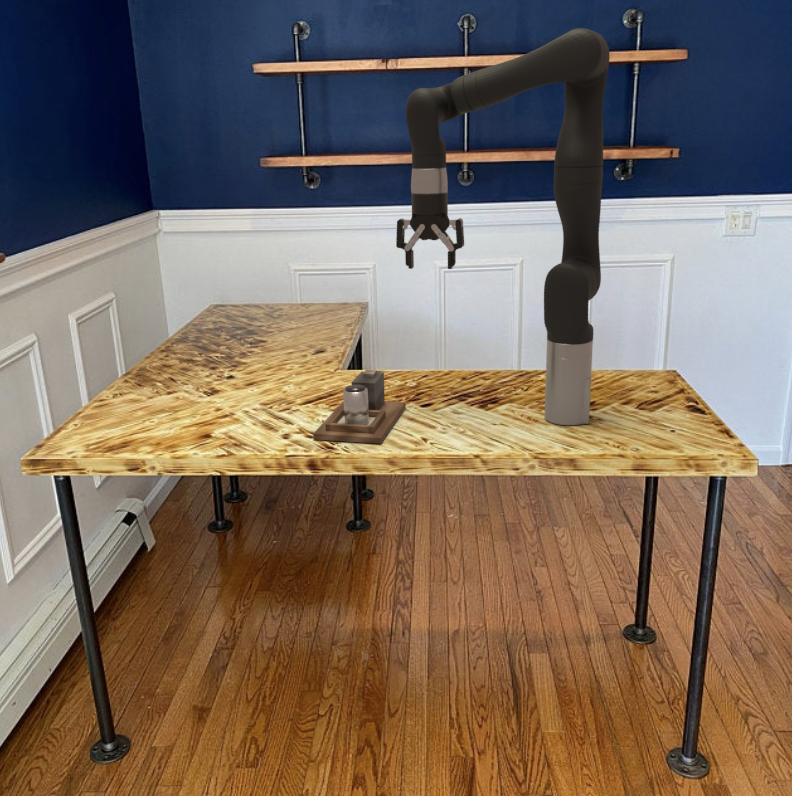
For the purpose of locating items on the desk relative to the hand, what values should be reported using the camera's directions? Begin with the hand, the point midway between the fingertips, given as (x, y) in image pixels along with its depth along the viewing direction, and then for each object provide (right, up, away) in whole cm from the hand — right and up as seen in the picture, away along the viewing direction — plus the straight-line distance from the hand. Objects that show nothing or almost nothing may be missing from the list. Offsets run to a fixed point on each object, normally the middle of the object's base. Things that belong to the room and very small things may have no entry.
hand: (430, 268), depth 177 cm
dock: (-15, -33, -2) cm, 36 cm away
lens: (-15, -33, -7) cm, 37 cm away
